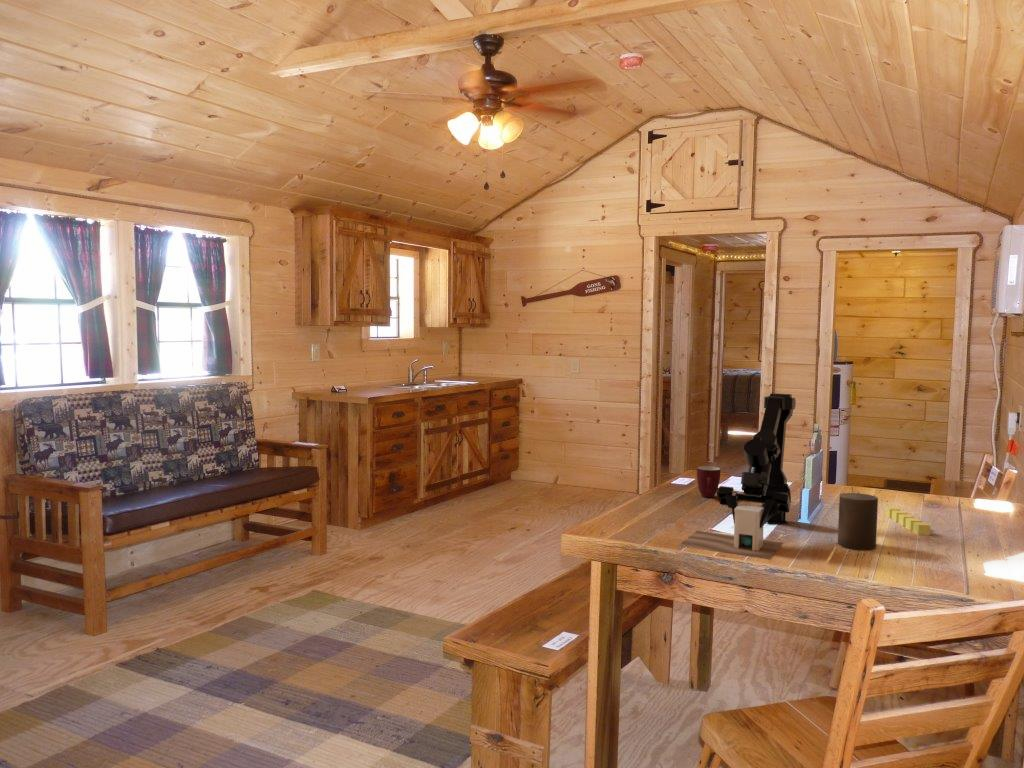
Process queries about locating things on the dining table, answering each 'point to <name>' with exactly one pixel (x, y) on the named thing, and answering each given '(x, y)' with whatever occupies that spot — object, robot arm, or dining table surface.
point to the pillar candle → (857, 521)
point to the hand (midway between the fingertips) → (747, 525)
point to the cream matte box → (748, 525)
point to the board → (729, 545)
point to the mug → (708, 480)
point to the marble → (747, 540)
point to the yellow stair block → (908, 521)
